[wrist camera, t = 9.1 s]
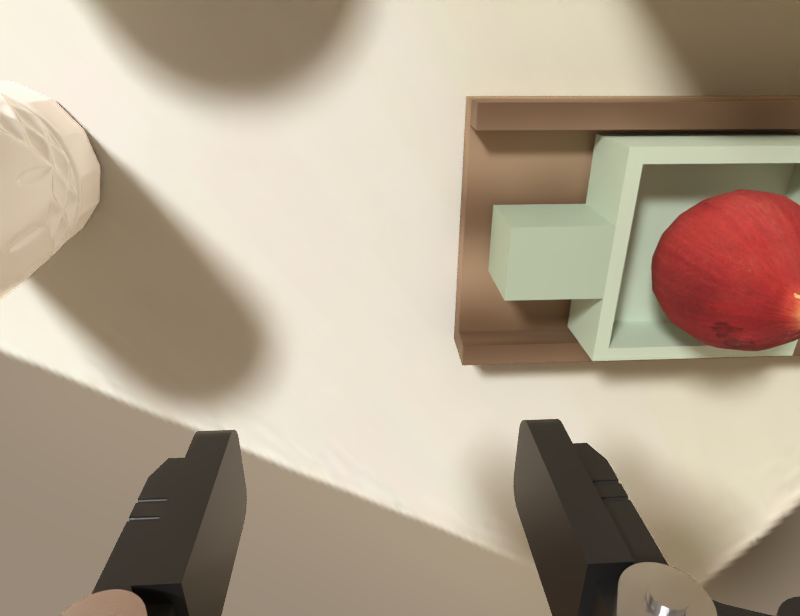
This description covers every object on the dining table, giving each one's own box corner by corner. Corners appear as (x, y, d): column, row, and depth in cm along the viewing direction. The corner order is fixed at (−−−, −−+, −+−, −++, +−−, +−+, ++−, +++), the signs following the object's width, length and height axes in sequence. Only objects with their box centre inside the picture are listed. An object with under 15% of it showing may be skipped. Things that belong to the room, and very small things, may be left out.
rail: (466, 96, 23) (495, 111, 18) (987, 95, 25) (1147, 110, 20) (454, 338, 28) (473, 402, 23) (889, 327, 30) (997, 386, 25)
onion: (752, 281, 25) (908, 377, 18) (626, 315, 26) (729, 422, 18) (752, 153, 23) (932, 207, 16) (612, 193, 23) (725, 263, 16)
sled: (498, 134, 23) (518, 147, 20) (803, 132, 23) (865, 145, 21) (483, 328, 26) (498, 363, 24) (746, 322, 27) (792, 355, 24)
